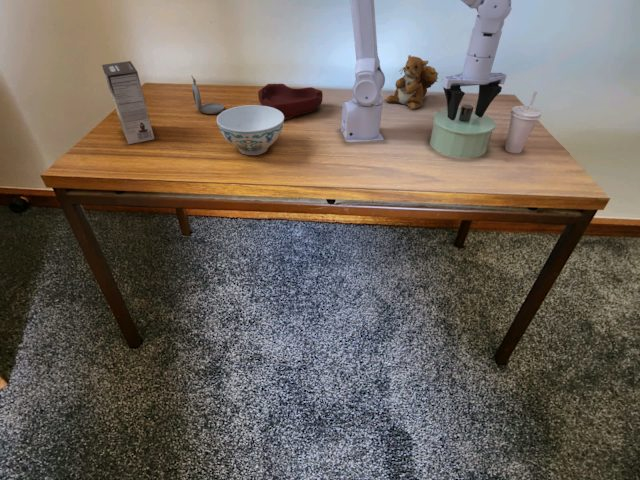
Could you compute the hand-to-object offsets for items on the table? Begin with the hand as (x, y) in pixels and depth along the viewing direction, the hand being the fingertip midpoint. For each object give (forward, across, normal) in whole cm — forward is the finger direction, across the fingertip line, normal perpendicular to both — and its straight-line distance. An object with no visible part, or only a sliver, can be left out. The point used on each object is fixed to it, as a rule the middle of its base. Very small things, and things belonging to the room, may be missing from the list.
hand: (464, 117), depth 92 cm
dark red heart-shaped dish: (+8, +36, -31) cm, 48 cm away
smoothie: (+8, -13, +4) cm, 15 cm away
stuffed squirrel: (+8, -3, -31) cm, 32 cm away
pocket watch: (+8, +57, -37) cm, 68 cm away
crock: (+8, 0, 0) cm, 8 cm away
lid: (+1, 0, 0) cm, 1 cm away
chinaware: (+8, +48, -11) cm, 50 cm away
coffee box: (+8, +74, -25) cm, 79 cm away
